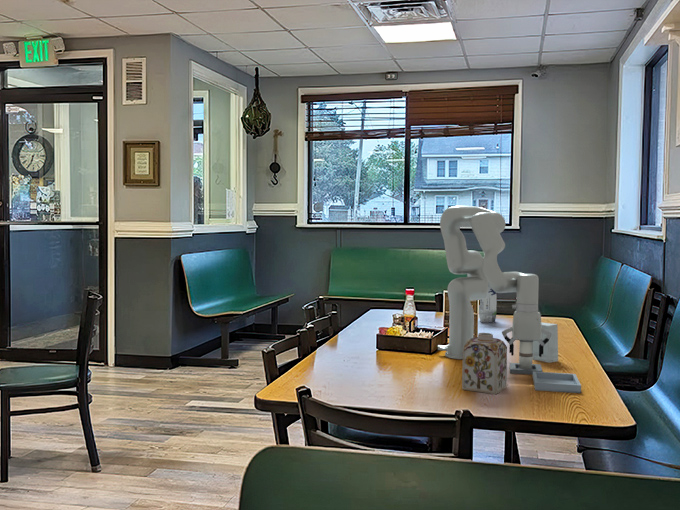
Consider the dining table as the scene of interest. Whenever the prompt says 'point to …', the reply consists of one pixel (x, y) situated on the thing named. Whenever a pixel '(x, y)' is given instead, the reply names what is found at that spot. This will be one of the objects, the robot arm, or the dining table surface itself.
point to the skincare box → (547, 344)
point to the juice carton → (488, 306)
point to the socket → (515, 369)
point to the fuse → (525, 354)
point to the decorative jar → (484, 364)
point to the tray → (556, 382)
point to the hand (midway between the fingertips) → (526, 355)
